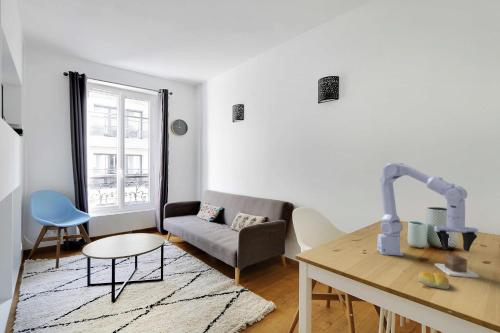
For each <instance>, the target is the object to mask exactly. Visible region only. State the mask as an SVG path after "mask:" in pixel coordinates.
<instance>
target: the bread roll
mask: <svg viewBox="0 0 500 333" xmlns="http://www.w3.org/2000/svg"><path fill="white" fill-rule="evenodd" d="M417 279H418V281H419V282H420V283H422V285H425V286H428V287H430V288H437V289H440V290H447V289H449V288H450V283H449V279H448V278H447V277H446V275H444V274H442V273H439V272H435V273H434V272H430V271H426V270H425V271H421V272H419V274H418V278H417Z"/></svg>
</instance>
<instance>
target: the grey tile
mask: <svg viewBox="0 0 500 333" xmlns="http://www.w3.org/2000/svg"><path fill="white" fill-rule="evenodd" d="M434 266H435V267H436V268H438V269H440V270H441V271H442V272H444V273H445V274H447V276H449V277H450V276H452V277H465V278H477V279H479V278H480V275H478V274H477V273H475V272H473V271H472V270H470V269H468V268H467V272H455V271H451V270H450V269H448V268H447V267H445V263H437V262H436V263H434Z"/></svg>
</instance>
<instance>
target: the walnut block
mask: <svg viewBox="0 0 500 333" xmlns="http://www.w3.org/2000/svg"><path fill="white" fill-rule="evenodd" d="M467 262H468V259H466V258H464V256H461V255H460V254H448V253H447V254H444V264H445V267H447V268H448V269H450V270H451V271H455V272H467V269H468V263H467Z"/></svg>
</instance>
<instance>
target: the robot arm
mask: <svg viewBox="0 0 500 333" xmlns="http://www.w3.org/2000/svg"><path fill="white" fill-rule="evenodd" d="M380 176H381V177H380V179H379V181H380V182H379V183H380V190H381V191H380V192H381V199H382V206H383V216H382V218H381V223H380V231H381V232H382V233H378V234H377V248H376V250H377V251H378V252H379V253H380V254H381V255H387V256H388V255H389V256H402V257H403V256H404V254H403V253H402V252H401V232H402V231H403V229H404V228H403V227H404V226H403V223H402V222H401V218H400V217H399V215H398V214H397V206H396V199H395V191H394V190H395V189H394V182H395V181H396V180H397V179H399V178H401V177H403V176H408V177H410V178H413V179H415V180H417V181H419V182H421V183H424V184H425V185H426V188H428V189H429V190H432V191H433V192H435V193H437V194H438V195H441V196H443V197H444V198H445V199H446V225H434V226H433V231H434V232H435V231H436V233H437V235H438V237H439V239H440V242H441V245H442V248H441V249H443V250H444V251H448V238H449V235H450V233H461V234H462V235H461V236H462V240H463V241H462V244H463V245H462V247H463V251H465V252H468V253H469V252H470V249H471V247H472V244H473V243H474V241H475V240H476V239H477V237H478V234H479V228H476V227H468V226H466V200H465V199H467V197H468V191H467V190H466V189H465V188H463V187H462V186H456V184H455V183H453V182H452V183H450V182H448V181H446V180H444V179H443V177H441V176H438V177H437V176H433V177H432V176H431V177H430V176H428V175H426V174H425V173H423V172H421V171H419V170H417V169H416V168H414V167H411V166H409V165H408V164H404V163H399V162H397V163H396V162H394V163H393V162H389V163H387V164H386V165H385V166H383V168H382V173H381V175H380ZM446 232H448V233H449V234H447V233H446Z"/></svg>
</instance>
